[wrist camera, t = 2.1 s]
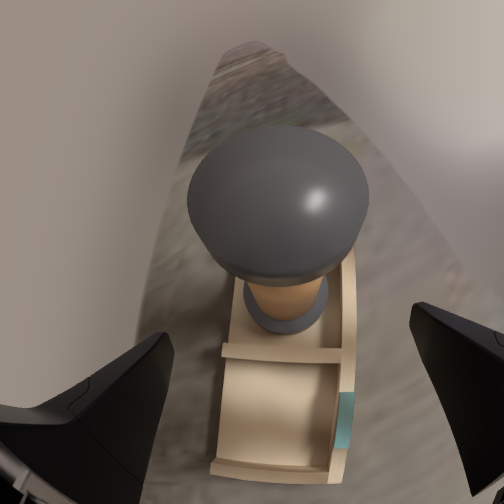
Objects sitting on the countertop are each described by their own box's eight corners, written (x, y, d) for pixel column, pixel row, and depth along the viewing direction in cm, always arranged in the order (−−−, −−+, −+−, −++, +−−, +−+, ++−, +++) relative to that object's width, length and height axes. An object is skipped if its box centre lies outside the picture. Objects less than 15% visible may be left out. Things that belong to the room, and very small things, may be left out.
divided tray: (336, 471, 15) (342, 484, 12) (218, 464, 16) (208, 475, 13) (346, 243, 22) (353, 226, 20) (242, 241, 24) (236, 223, 21)
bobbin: (324, 336, 19) (379, 272, 7) (242, 332, 20) (169, 265, 8) (325, 260, 21) (355, 128, 9) (250, 257, 22) (206, 129, 10)
